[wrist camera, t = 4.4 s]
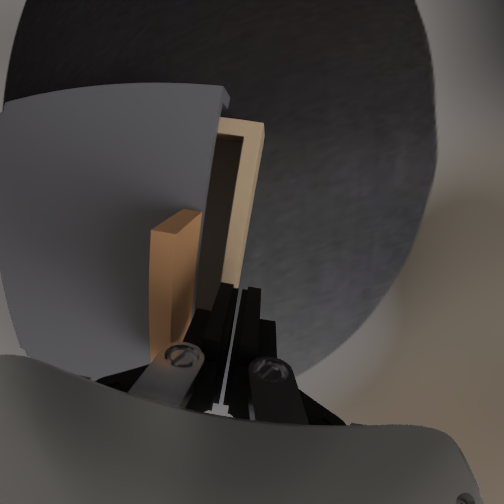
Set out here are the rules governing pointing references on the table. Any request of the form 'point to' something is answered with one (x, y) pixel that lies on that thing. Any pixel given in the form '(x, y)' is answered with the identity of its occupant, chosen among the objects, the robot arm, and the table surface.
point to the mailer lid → (105, 219)
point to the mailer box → (228, 206)
